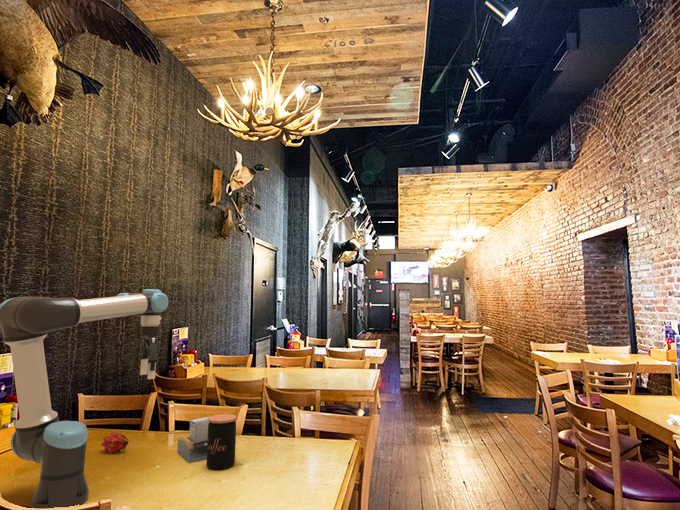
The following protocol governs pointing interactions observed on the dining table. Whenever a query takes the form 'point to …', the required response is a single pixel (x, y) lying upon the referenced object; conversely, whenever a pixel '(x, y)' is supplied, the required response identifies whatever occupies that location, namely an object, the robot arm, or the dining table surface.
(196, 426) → the medicine box
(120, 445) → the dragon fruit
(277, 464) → the dining table surface
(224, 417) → the coffee jar
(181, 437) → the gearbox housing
